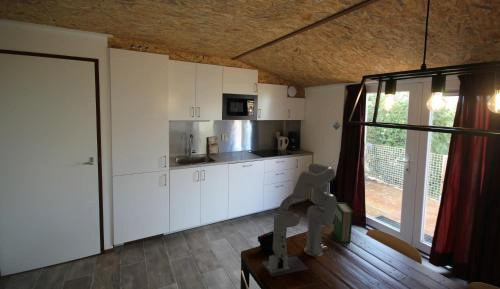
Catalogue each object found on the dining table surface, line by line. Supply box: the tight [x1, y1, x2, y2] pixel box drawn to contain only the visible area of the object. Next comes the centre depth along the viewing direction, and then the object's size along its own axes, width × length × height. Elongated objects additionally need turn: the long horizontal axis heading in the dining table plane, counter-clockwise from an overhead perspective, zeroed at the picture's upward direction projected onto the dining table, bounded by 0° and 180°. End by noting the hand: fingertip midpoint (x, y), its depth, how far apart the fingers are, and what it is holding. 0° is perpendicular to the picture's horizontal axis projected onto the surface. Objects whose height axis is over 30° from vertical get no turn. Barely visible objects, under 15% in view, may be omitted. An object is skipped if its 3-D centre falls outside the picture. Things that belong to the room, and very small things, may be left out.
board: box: [261, 255, 309, 277], centre depth 152 cm, size 24×14×5 cm, turn 110°
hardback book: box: [333, 201, 354, 244], centre depth 191 cm, size 18×7×24 cm, turn 176°
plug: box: [268, 253, 297, 270], centre depth 150 cm, size 16×4×6 cm, turn 110°
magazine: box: [257, 230, 274, 254], centre depth 166 cm, size 4×13×15 cm, turn 87°
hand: (278, 264), depth 149 cm, fingers closed on plug, 4 cm apart
